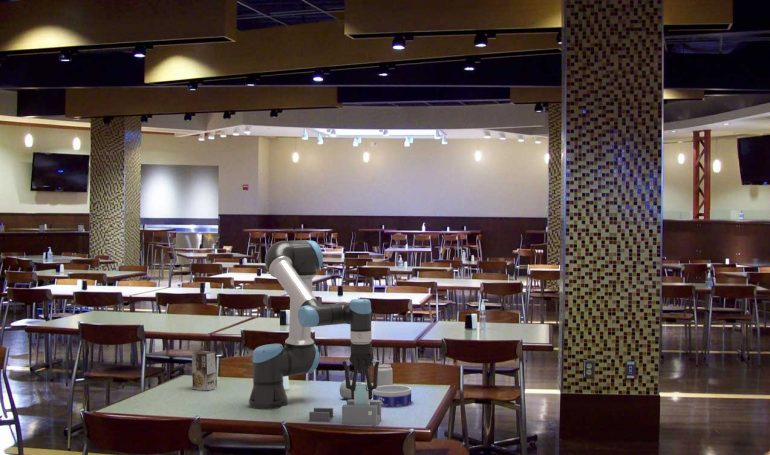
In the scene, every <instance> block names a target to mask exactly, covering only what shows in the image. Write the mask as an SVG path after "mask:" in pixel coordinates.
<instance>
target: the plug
mask: <svg viewBox="0 0 770 455" xmlns="http://www.w3.org/2000/svg"><path fill="white" fill-rule="evenodd" d="M367 390H368V387H367V383H362V384H357V385H356V405H366V391H367Z"/></svg>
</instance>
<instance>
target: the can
mask: <svg viewBox="0 0 770 455" xmlns="http://www.w3.org/2000/svg"><path fill="white" fill-rule="evenodd" d="M393 370H394V369H393V368H392V366H391V364H387V363H383V364H381V363H380V364H379V366H378V385H377V387H378V386H384V385H394V383H393V382H394V380H393V379H394V378H393V377H394V376H393V374H394V373H393Z"/></svg>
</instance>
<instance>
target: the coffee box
mask: <svg viewBox="0 0 770 455" xmlns="http://www.w3.org/2000/svg"><path fill="white" fill-rule="evenodd" d="M217 358H218V356H217V352H216V351H208V350H200V351H195V352H191V369H192V370H191V371H192V372H191V373H192V390H193V389H197V390H196V391H202V390H210V391H212V390H211V389H215V388H217V389H218V373H217V372H218V367H217V364H218V363H217V362H218V360H217ZM215 390H216V389H215Z"/></svg>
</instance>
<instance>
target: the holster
mask: <svg viewBox="0 0 770 455" xmlns="http://www.w3.org/2000/svg"><path fill="white" fill-rule="evenodd" d="M308 414H309V415H308V416H309V417H308V420H307V422H309V423H310V422H311V423H312V422H313V423H314V422H317V423H318V422H319V423H322V422H323V423H330V422H331V421H332V420H333V419H334V418H335V417H336V415H334V408H333V407H313V411H309V413H308Z"/></svg>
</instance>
